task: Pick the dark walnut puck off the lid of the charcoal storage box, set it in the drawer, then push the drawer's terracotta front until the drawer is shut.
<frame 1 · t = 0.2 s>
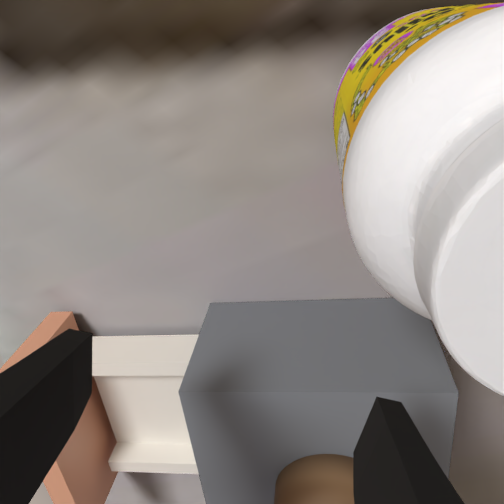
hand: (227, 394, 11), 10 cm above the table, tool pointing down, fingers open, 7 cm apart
storage box: (317, 387, 24), on the table
drawer: (149, 426, 23), point 3 cm above the table, slide at 7.0 cm
supplement bottle: (418, 106, 17), on the table
walnut puck: (331, 491, 19), point 6 cm above the table, touching storage box
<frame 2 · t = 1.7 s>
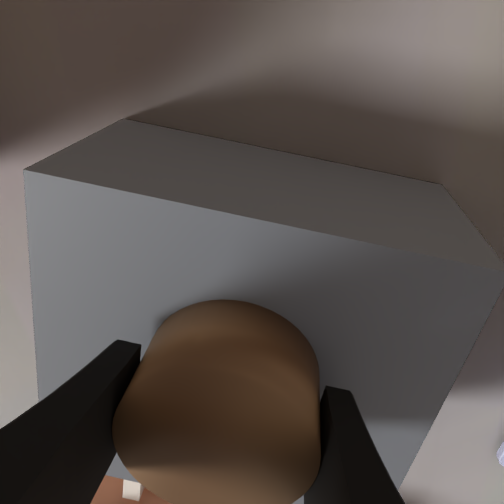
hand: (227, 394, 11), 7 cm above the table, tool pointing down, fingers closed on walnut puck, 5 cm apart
storage box: (255, 275, 18), on the table
drawer: (212, 477, 19), point 3 cm above the table, slide at 7.0 cm
walnut puck: (232, 372, 12), point 6 cm above the table, touching gripper, storage box
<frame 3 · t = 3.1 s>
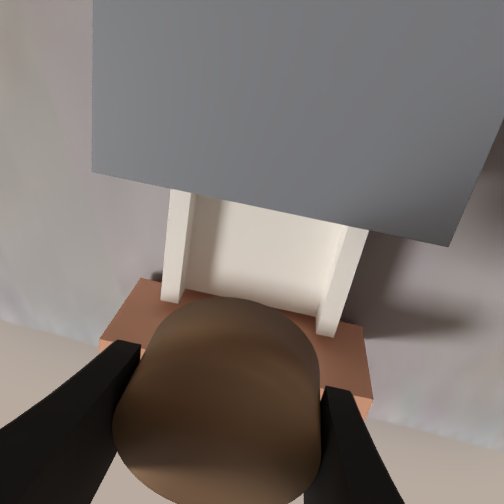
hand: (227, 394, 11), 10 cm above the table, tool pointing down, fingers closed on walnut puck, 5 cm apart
storage box: (308, 25, 17), on the table
drawer: (259, 258, 18), point 3 cm above the table, slide at 7.0 cm
walnut puck: (232, 369, 12), point 10 cm above the table, touching gripper
when the fingers open (3 cm above the table, at t = 4.9 s): walnut puck stays where it is, resting on drawer.
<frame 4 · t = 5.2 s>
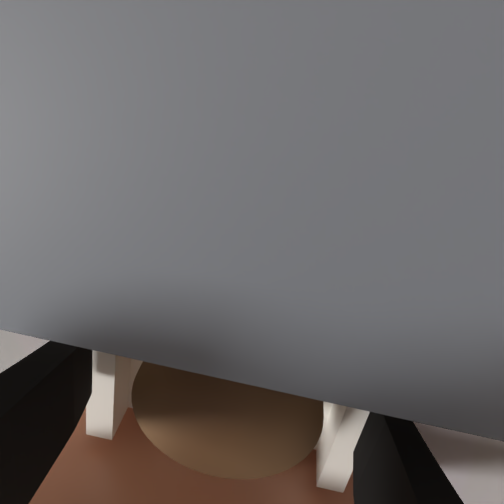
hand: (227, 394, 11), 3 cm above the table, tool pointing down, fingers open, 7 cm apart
storage box: (304, 27, 10), on the table
drawer: (228, 391, 12), point 3 cm above the table, slide at 7.0 cm, touching walnut puck
walnut puck: (240, 347, 13), point 1 cm above the table, touching drawer
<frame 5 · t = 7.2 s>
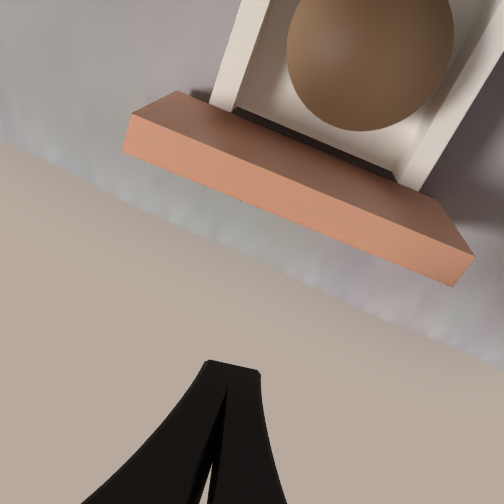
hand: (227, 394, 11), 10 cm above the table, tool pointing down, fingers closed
drawer: (360, 51, 14), point 3 cm above the table, slide at 7.0 cm, touching walnut puck
walnut puck: (360, 44, 15), point 1 cm above the table, touching drawer
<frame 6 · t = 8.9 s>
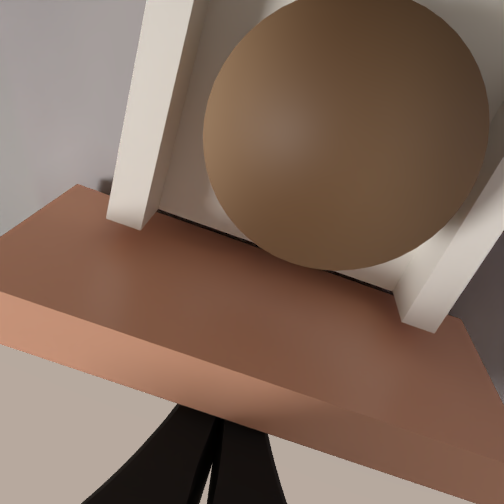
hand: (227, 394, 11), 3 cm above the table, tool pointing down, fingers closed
drawer: (330, 143, 8), point 3 cm above the table, slide at 7.0 cm, touching gripper, walnut puck
walnut puck: (333, 119, 10), point 1 cm above the table, touching drawer
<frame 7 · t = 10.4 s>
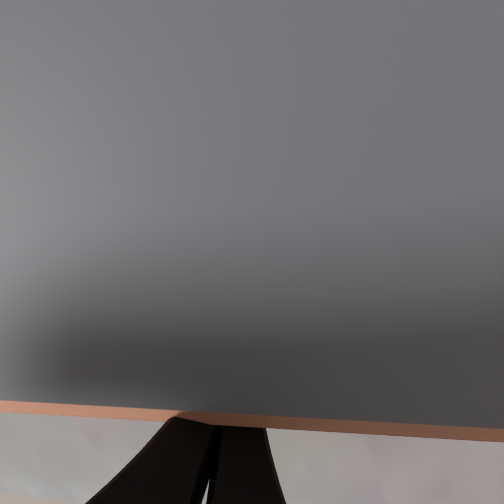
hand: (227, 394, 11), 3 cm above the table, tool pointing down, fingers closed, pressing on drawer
storage box: (228, 52, 10), on the table
drawer: (207, 135, 8), point 3 cm above the table, slide at -0.2 cm, touching gripper, storage box, walnut puck
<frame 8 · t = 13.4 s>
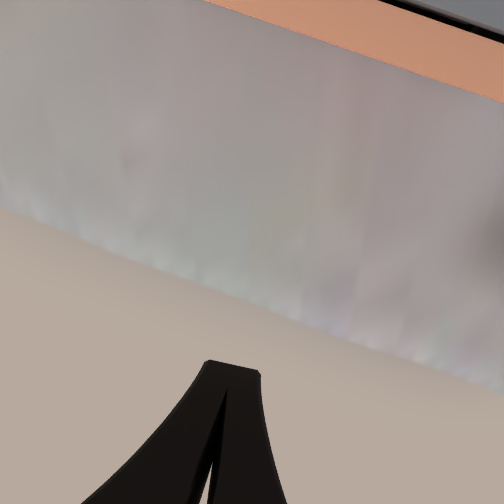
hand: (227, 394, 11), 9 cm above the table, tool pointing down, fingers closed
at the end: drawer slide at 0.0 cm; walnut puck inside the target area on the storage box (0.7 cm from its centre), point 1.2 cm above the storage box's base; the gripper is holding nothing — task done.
